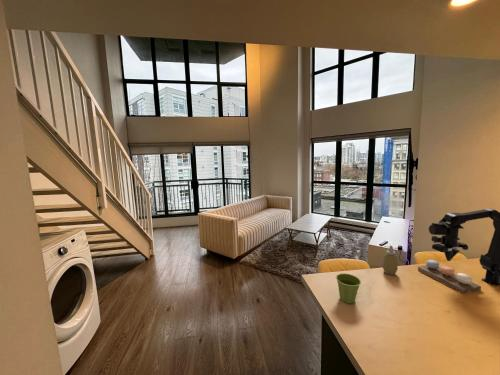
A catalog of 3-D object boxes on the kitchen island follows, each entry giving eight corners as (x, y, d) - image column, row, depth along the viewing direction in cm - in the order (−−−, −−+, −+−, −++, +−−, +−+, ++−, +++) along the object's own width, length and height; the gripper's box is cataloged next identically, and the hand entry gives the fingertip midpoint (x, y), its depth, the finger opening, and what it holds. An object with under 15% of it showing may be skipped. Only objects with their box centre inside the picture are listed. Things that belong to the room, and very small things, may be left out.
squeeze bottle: (396, 277, 129) (398, 249, 127) (381, 273, 134) (382, 246, 132) (397, 272, 136) (399, 245, 133) (382, 268, 140) (384, 242, 138)
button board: (433, 268, 139) (433, 264, 139) (480, 290, 115) (481, 286, 115) (417, 270, 137) (418, 266, 137) (463, 293, 113) (463, 289, 112)
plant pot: (363, 308, 103) (364, 286, 102) (337, 305, 106) (338, 284, 104) (356, 293, 115) (357, 274, 114) (333, 291, 117) (333, 272, 116)
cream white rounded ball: (461, 282, 121) (462, 272, 120) (474, 288, 115) (475, 278, 114) (453, 283, 120) (454, 273, 119) (465, 289, 114) (466, 279, 113)
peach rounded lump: (445, 274, 129) (446, 265, 129) (456, 279, 123) (457, 270, 123) (437, 275, 128) (438, 266, 127) (448, 281, 122) (449, 271, 122)
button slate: (431, 267, 138) (431, 259, 137) (440, 272, 132) (441, 263, 131) (423, 268, 136) (424, 260, 136) (433, 273, 131) (433, 264, 130)
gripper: (448, 229, 132) (446, 253, 134) (424, 231, 129) (421, 256, 131) (470, 235, 121) (467, 261, 123) (443, 238, 118) (441, 264, 120)
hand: (448, 260), depth 125 cm, fingers closed
